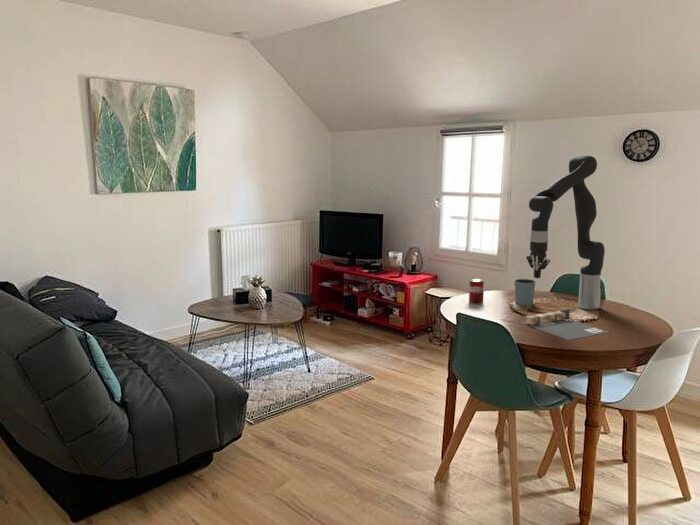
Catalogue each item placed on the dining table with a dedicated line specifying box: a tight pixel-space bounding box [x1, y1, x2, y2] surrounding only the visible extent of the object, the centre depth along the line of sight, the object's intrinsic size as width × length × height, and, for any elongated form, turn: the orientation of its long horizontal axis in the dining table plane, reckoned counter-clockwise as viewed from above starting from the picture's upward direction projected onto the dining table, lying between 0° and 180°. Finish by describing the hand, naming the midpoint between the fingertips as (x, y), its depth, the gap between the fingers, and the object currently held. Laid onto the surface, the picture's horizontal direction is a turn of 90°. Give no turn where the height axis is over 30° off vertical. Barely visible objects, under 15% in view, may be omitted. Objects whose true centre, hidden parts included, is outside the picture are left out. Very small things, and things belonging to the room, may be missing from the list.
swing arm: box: [525, 307, 571, 325], centre depth 244 cm, size 23×4×4 cm, turn 114°
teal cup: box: [514, 278, 536, 306], centre depth 275 cm, size 10×10×12 cm
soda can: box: [468, 278, 485, 305], centre depth 277 cm, size 7×7×12 cm
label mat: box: [519, 320, 610, 341], centre depth 235 cm, size 24×28×1 cm
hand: (537, 277), depth 247 cm, fingers closed
